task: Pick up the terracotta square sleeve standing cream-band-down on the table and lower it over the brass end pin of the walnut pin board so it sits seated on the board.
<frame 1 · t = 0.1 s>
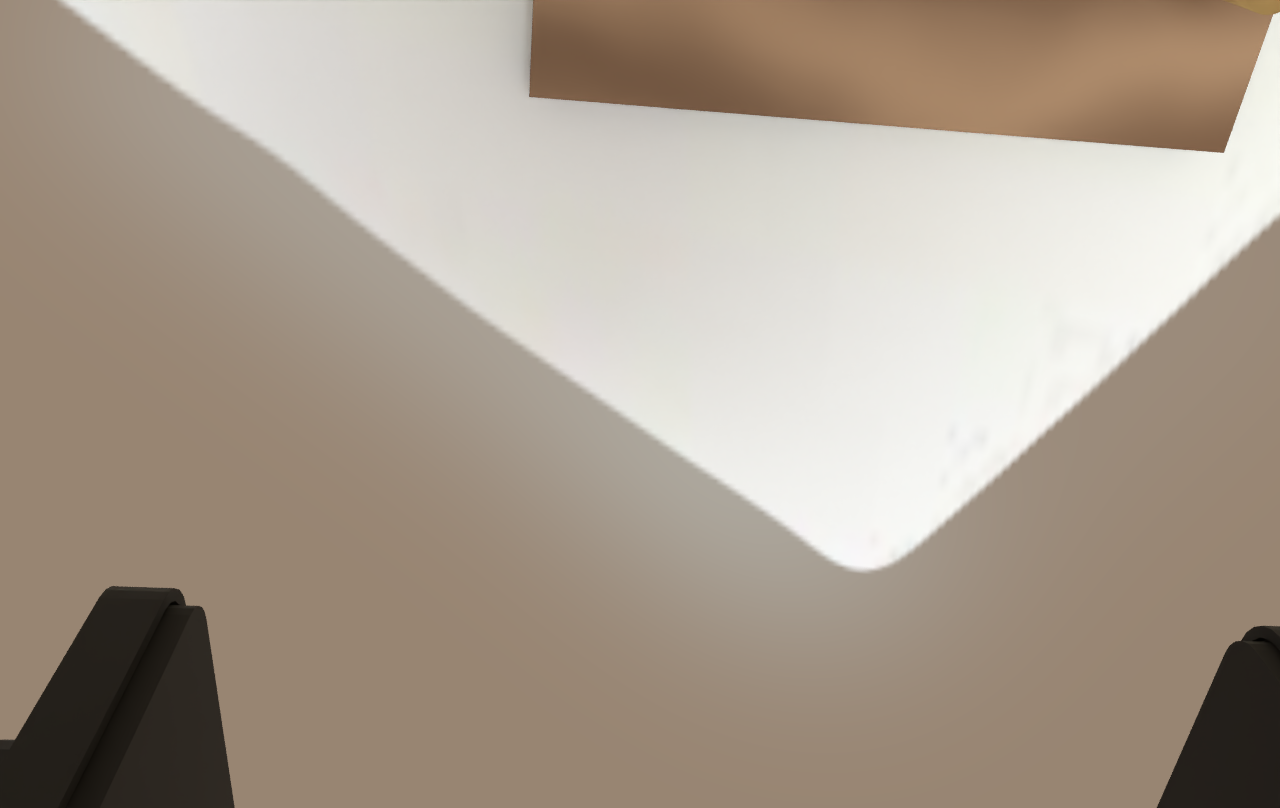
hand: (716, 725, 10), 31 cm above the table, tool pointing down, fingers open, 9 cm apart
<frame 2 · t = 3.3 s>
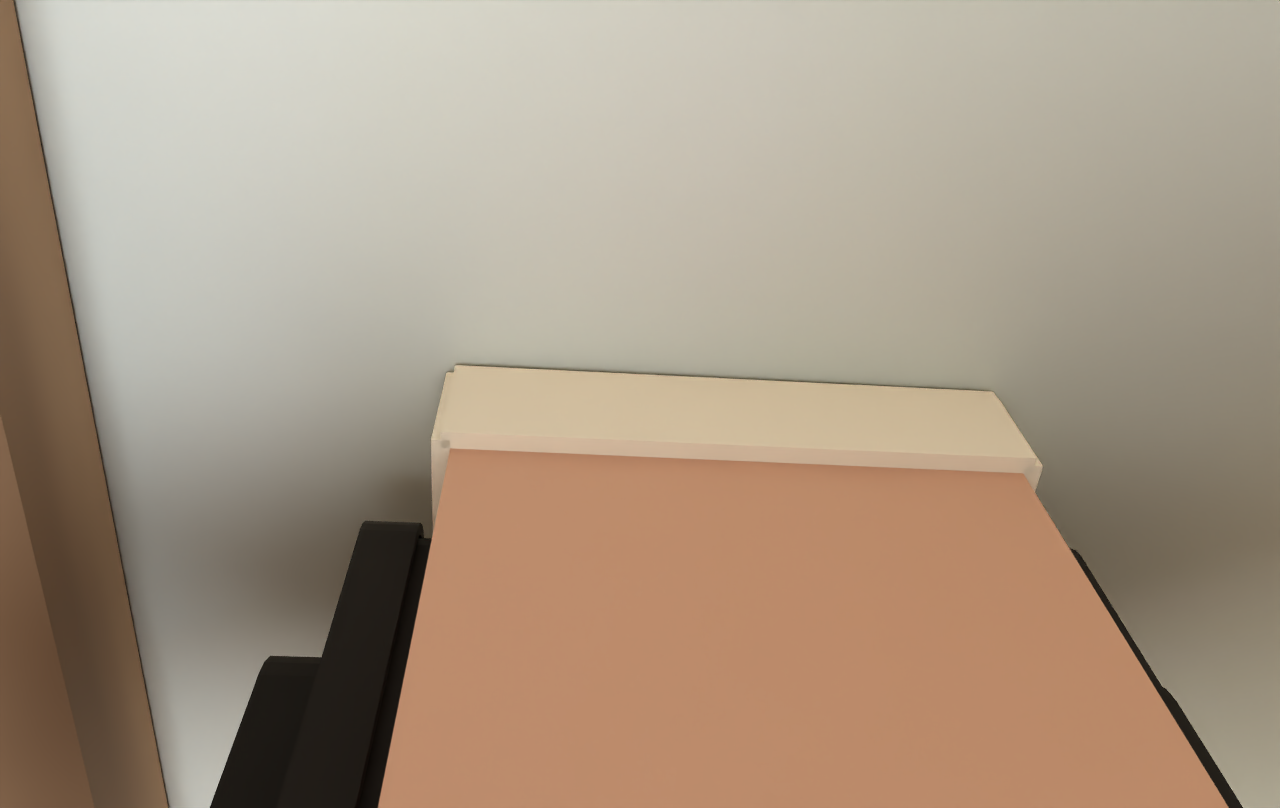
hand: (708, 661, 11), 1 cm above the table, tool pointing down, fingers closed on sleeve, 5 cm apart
sleeve: (699, 597, 12), on the table, touching gripper
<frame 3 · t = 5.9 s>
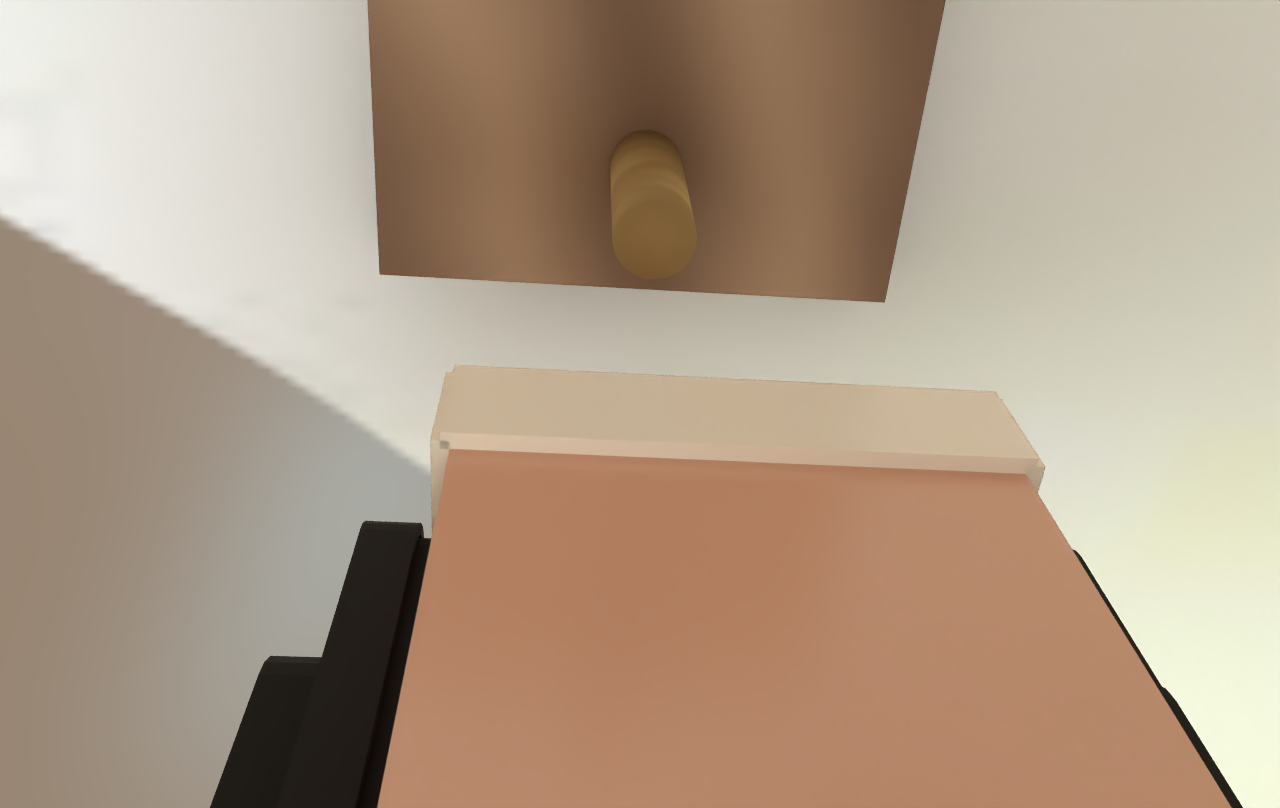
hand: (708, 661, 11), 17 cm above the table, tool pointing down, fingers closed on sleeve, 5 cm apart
sleeve: (700, 598, 12), point 17 cm above the table, touching gripper
when the fingers open (4 cm above the table, at t = 8.4 s): sleeve drops 1 cm, resting on pin board.
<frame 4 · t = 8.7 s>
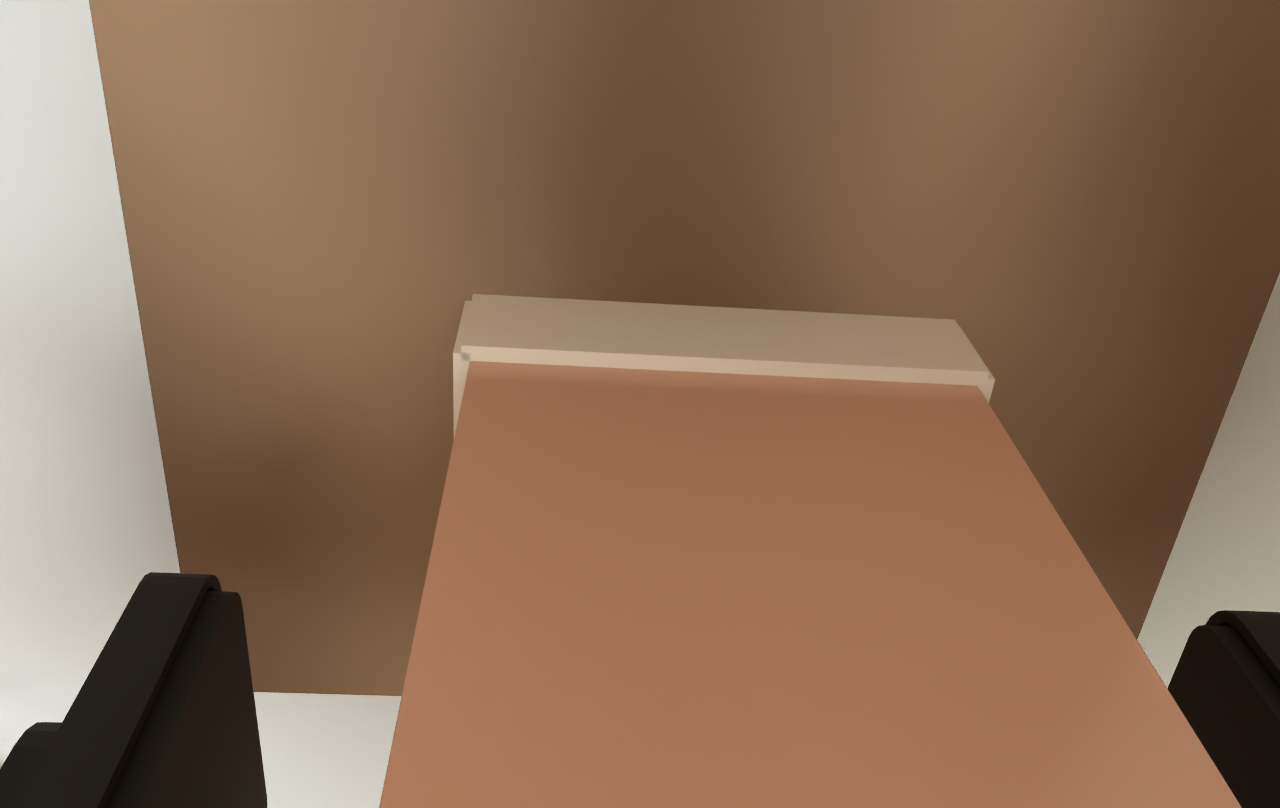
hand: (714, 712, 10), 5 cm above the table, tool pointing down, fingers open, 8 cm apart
sleeve: (692, 512, 13), point 1 cm above the table, touching pin board
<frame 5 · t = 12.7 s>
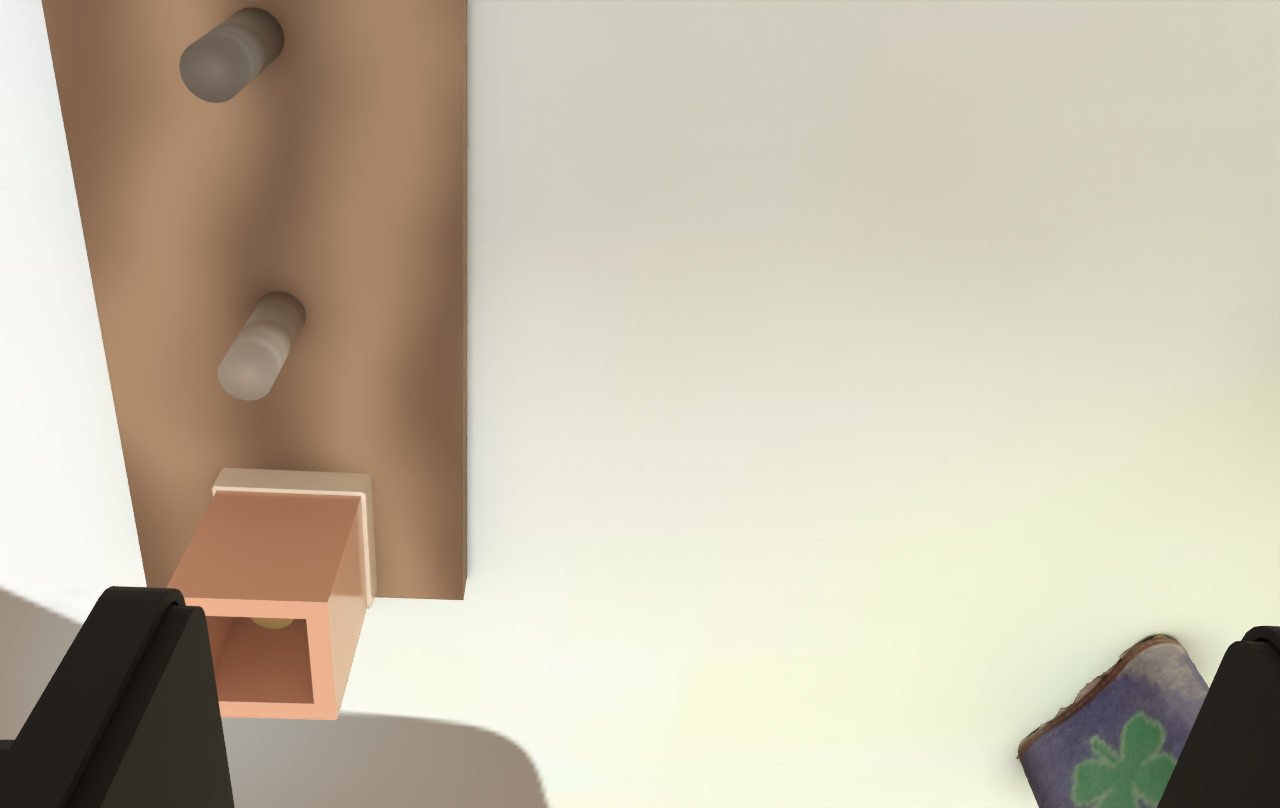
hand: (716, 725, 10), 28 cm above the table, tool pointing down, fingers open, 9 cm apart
flask: (1096, 700, 50), on the table
sleeve: (302, 530, 42), point 1 cm above the table, touching pin board
pin board: (291, 294, 39), on the table
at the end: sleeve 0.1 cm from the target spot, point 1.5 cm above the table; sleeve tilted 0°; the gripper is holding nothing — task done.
